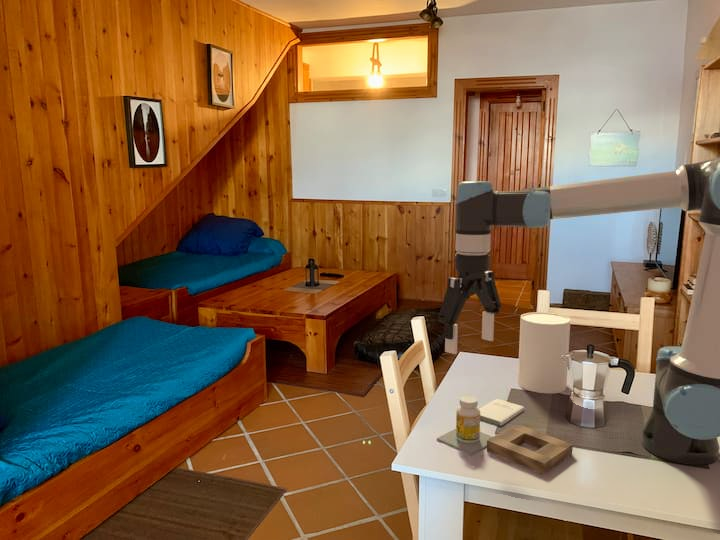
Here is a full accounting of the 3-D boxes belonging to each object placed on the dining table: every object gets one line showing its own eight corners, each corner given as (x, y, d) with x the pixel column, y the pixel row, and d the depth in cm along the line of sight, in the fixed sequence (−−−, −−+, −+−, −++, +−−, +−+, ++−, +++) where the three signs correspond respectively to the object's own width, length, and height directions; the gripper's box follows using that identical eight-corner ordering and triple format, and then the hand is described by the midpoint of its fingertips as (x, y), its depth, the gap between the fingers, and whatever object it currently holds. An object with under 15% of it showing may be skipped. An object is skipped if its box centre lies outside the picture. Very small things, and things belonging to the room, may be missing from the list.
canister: (573, 393, 158) (577, 324, 155) (524, 393, 158) (527, 324, 155) (557, 376, 171) (561, 312, 168) (512, 376, 172) (515, 312, 168)
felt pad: (498, 440, 131) (498, 438, 131) (472, 455, 124) (472, 453, 124) (462, 426, 138) (463, 425, 138) (436, 439, 131) (436, 438, 131)
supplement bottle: (480, 444, 128) (482, 404, 126) (456, 443, 129) (457, 403, 127) (477, 433, 133) (479, 395, 132) (455, 432, 134) (455, 394, 132)
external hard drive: (471, 418, 144) (495, 403, 153) (500, 428, 138) (524, 411, 147) (471, 412, 143) (496, 397, 152) (501, 421, 138) (524, 406, 147)
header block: (572, 454, 124) (572, 444, 124) (543, 474, 116) (544, 463, 116) (516, 433, 134) (516, 423, 134) (486, 450, 126) (486, 440, 126)
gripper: (490, 245, 135) (488, 331, 138) (421, 256, 118) (420, 354, 122) (518, 248, 129) (514, 338, 133) (450, 260, 112) (448, 362, 116)
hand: (469, 346), depth 127 cm, fingers open, 13 cm apart
